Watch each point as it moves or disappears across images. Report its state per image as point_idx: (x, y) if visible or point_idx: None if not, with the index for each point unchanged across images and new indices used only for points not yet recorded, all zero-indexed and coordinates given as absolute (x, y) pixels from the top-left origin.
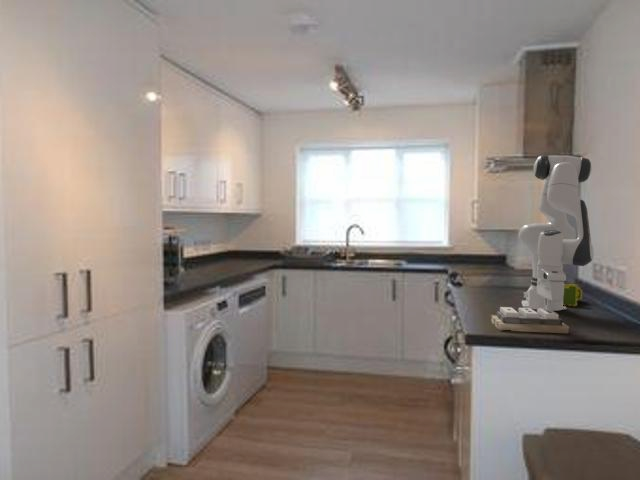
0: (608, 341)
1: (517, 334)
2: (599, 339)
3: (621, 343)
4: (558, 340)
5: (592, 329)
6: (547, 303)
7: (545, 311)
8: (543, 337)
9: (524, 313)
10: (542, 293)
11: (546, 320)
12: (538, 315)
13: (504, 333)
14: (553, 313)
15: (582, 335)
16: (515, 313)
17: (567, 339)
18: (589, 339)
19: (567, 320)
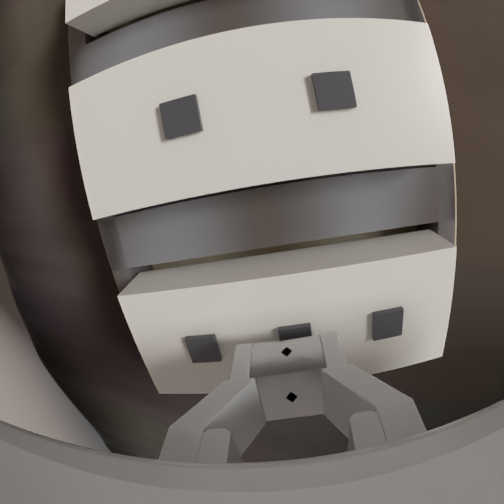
0: (112, 435)
1: (29, 83)
2: (124, 424)
3: (111, 451)
4: (11, 274)
5: (318, 447)
6: (207, 404)
7: (275, 315)
8: (21, 214)
9: (128, 66)
10: (418, 492)
11: (118, 273)
12: (291, 225)
13: (36, 25)
14: (184, 368)
15: (159, 398)
16: (70, 3)
17: (44, 316)
18: (99, 396)
19: (493, 372)
